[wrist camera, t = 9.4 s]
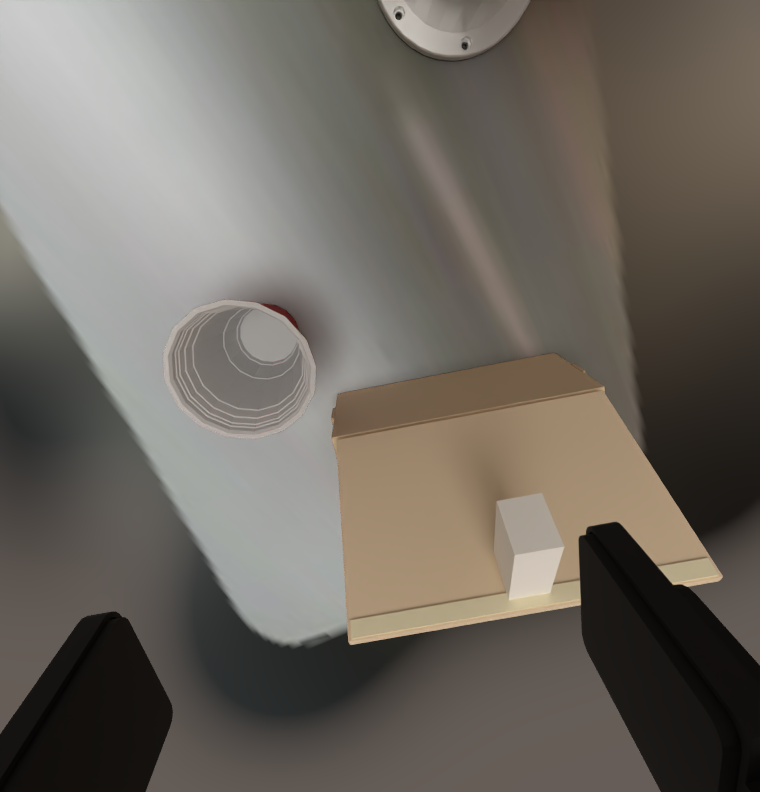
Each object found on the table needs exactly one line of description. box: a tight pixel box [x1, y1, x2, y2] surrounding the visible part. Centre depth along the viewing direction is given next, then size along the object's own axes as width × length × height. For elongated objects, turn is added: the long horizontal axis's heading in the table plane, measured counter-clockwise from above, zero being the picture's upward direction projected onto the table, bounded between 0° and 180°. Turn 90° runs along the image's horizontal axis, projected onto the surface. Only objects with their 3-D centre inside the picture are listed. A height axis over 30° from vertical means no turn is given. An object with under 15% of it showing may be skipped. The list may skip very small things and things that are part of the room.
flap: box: [336, 390, 723, 645], centre depth 29 cm, size 15×21×7 cm
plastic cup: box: [163, 299, 316, 439], centre depth 38 cm, size 11×11×12 cm
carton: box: [331, 353, 605, 461], centre depth 44 cm, size 16×22×10 cm
